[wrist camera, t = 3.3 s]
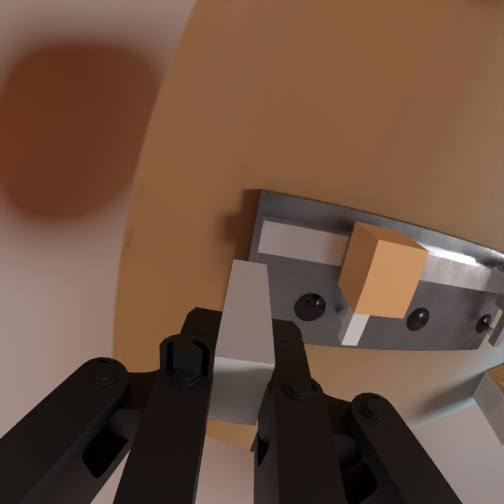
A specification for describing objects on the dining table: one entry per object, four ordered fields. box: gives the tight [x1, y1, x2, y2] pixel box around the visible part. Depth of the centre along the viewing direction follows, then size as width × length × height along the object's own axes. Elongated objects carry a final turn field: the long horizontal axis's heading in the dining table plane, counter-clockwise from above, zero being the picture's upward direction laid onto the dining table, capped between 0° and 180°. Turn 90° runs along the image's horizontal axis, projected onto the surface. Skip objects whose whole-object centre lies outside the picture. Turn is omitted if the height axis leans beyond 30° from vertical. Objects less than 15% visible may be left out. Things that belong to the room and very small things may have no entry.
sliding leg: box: [338, 221, 429, 346], centre depth 20 cm, size 9×4×6 cm, turn 170°
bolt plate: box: [248, 189, 504, 351], centre depth 21 cm, size 13×32×7 cm, turn 80°
